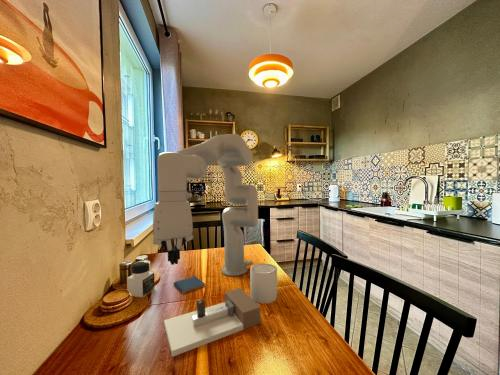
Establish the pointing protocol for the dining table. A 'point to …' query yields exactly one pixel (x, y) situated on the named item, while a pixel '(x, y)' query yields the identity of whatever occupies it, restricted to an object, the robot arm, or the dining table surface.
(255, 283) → the mug
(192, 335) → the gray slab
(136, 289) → the medicine bottle
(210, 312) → the bolt
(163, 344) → the dining table surface
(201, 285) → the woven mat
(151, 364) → the dining table surface
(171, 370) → the dining table surface
